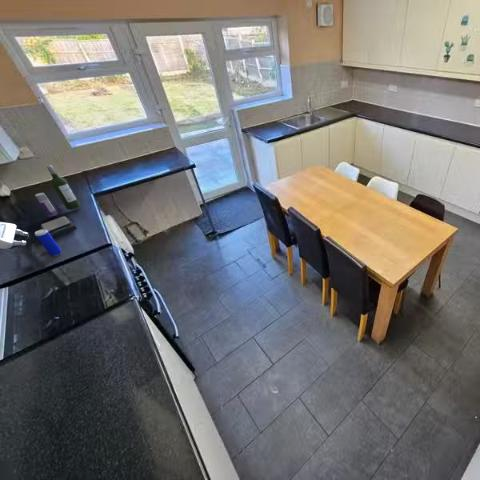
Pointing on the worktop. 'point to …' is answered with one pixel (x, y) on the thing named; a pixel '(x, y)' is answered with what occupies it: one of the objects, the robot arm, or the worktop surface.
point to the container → (46, 204)
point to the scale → (62, 229)
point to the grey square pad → (55, 224)
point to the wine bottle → (63, 190)
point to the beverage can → (48, 242)
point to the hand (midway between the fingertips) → (26, 239)
